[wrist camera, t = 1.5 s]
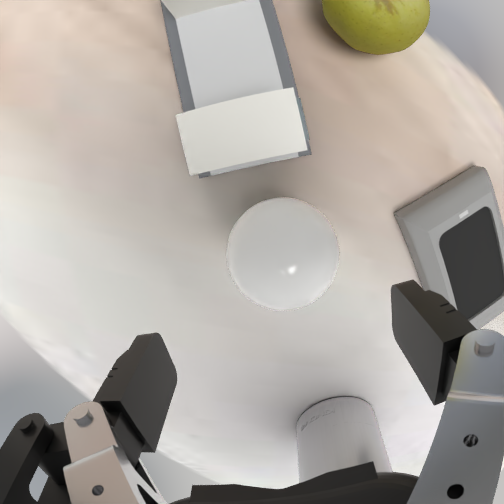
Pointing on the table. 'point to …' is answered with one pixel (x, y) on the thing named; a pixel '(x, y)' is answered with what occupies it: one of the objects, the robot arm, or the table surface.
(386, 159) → the table surface
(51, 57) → the table surface
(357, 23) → the apple
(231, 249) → the lightbulb
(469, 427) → the robot arm
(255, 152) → the block
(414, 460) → the table surface
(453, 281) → the grey flat block
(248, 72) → the rail board
